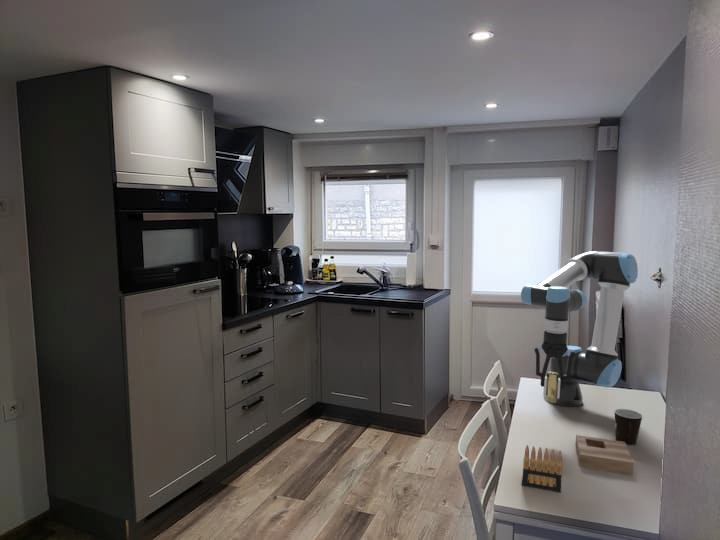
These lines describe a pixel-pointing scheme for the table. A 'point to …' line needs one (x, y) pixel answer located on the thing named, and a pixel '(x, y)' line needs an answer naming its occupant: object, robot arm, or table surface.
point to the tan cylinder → (551, 387)
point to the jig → (604, 454)
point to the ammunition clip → (542, 470)
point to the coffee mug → (627, 425)
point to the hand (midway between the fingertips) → (551, 396)
